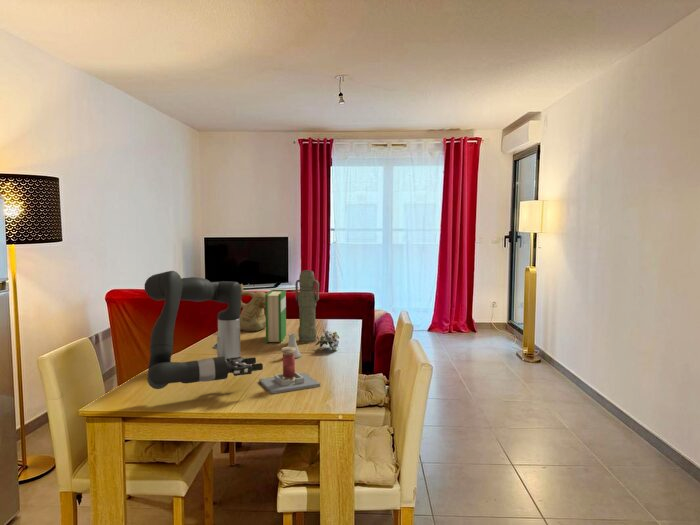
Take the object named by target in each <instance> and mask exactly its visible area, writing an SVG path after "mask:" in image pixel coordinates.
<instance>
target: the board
mask: <svg viewBox="0 0 700 525" xmlns="http://www.w3.org/2000/svg"><path fill="white" fill-rule="evenodd" d="M294 377H295V382H294V383H291V382H290V379H289V380H282V378H283V373H277V374H274V376H271V377H263V378H258V382H259V383H260V385H262V386H263V388H265V389H266V390H267V391H268V392H269V393H270V394H271V395H274V394H280V393H287V392H292V391H299V390H306V389H312V388H319V387H321V382H319V381H318V380H316V379H315V378H313V377H312V376H310V375H309V374H307V373H306V372H298V371H295V376H294Z"/></svg>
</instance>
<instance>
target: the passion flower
mask: <svg viewBox="0 0 700 525" xmlns="http://www.w3.org/2000/svg"><path fill="white" fill-rule="evenodd" d="M322 330H323V331H322V332H323V333H324V335H321V337H320V338H319V336H318V335H317V336H316V340H318V341H316V342H315V346H316V347H317V346H318V345H319V346H318V348H319V349H318V350H319V351H320V350H321V348H322V347H323V345H325V346H326V345H329V348H331V349H332V351H333V352H337V351H338V347H339V344H340V343H339V342H340V341H339V339H340V336H339V335H338V333H337V331H333V332H331V331H328V330H325V329H322Z"/></svg>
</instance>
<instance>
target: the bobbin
mask: <svg viewBox="0 0 700 525" xmlns="http://www.w3.org/2000/svg"><path fill="white" fill-rule="evenodd" d="M293 352H296V348H295V347H287V346H285V347H281V353H282V374H283V378H282V380H289V379H290V382H291V383H294V382H295V377H294V376H295V372H296V371H295V370H296V369H295V368H296V366H295V365H296V363H295V360H296V358H295V354H294V353H293Z"/></svg>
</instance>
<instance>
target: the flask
mask: <svg viewBox="0 0 700 525" xmlns="http://www.w3.org/2000/svg"><path fill="white" fill-rule="evenodd" d="M296 336H297V334H296V333H289V334H288V344H287V346H286V347H295V348H296V352H293V353H294V354H295V359H299V358H301V357H302V354H301V351H300V349H299V347H298V344H297V340H296Z"/></svg>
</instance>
